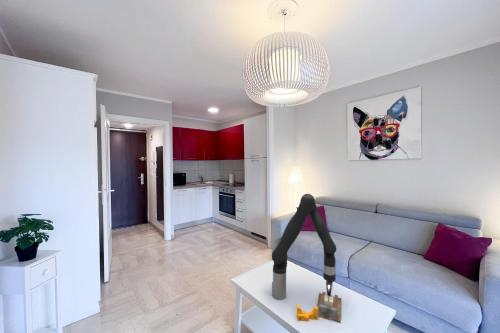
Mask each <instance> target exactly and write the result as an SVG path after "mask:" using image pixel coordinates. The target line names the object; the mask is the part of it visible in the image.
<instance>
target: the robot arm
mask: <svg viewBox="0 0 500 333" xmlns="http://www.w3.org/2000/svg"><path fill="white" fill-rule="evenodd" d="M308 216H309V217H310V219H311V223H312V224H313V227H314V229H315V232H316V233H317V236H318V237H319V239H320V241H321V244H322V246H323V266H322V267H323V268H322V269H323V270H322V273H323V274H322V276H323V280H325V289H326V295H329V296H332V292H333V285H334V282H335V281H336V279H337V272H336V270H337V268H336V256H335V254H336V252H337V246H336V244H335V242H334V240H333V238H332V237H331V235H330V231H329V229H328V227H327V225H326V223H325V221H324V219H323V218H322V216H321V214H320V212H319V209H318V207H317V204H316V199H315V196H313V195H312V194H310V193H305V194H303V195H302V196H301V198H300V201H299V205H298V207H297V210H296V211H295V213H294V215H292V217H291V218H290V220H289V221H288V223H287V224H286V227H285V228H284V231H283V233H282V235H281V238H280V240H279V242H278V244H277V246H276V247H275V248H274V250H272V254H271V260H272V262H273V265H272V282H271V297H273V298H274V299H276V300H278V301H279V300H280V301H281V300H285V299H286V298H287V267H288V252H289V250H290V248H291V247H292V245H293V244H294V242H295V241H296V240H297V238H298V236H299V235H300V232H301V231H302V229H303V227H304V224H305V222H306V219H307V218H308Z"/></svg>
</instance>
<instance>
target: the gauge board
mask: <svg viewBox="0 0 500 333" xmlns="http://www.w3.org/2000/svg"><path fill="white" fill-rule="evenodd" d="M325 295H327V291H322V292H318V299H317V303H316V306H317V307H318V318H322V319H324V320H328V321H332V322H335V323H339V324H341V323H342V298H341V297H339V295H338V294H334V295H333V307H330V306H326V305H324V298H325Z"/></svg>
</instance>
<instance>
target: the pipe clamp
mask: <svg viewBox="0 0 500 333" xmlns="http://www.w3.org/2000/svg"><path fill="white" fill-rule="evenodd" d="M296 318H297V319H296V320H297V321H298V322H310V320H315V321H317V320H319V317H318V307H317V305H314V306H313V308H312V310H311V311H303V309H301V305H300V304H298V305H297V304H296Z"/></svg>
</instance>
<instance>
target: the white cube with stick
mask: <svg viewBox="0 0 500 333" xmlns="http://www.w3.org/2000/svg"><path fill="white" fill-rule="evenodd" d="M333 296H334V295H333ZM333 296H332V295H331V296H329V295H327V294H326V295H325V298H324V305H326V306H330V307H333Z"/></svg>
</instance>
